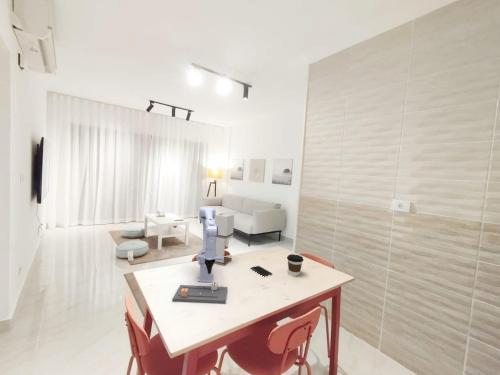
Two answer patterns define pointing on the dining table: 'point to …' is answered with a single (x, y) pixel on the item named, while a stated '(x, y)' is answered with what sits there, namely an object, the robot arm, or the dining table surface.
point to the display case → (223, 236)
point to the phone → (261, 271)
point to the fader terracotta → (184, 292)
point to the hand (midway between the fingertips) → (209, 273)
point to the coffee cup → (294, 264)
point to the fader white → (214, 285)
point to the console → (201, 294)
